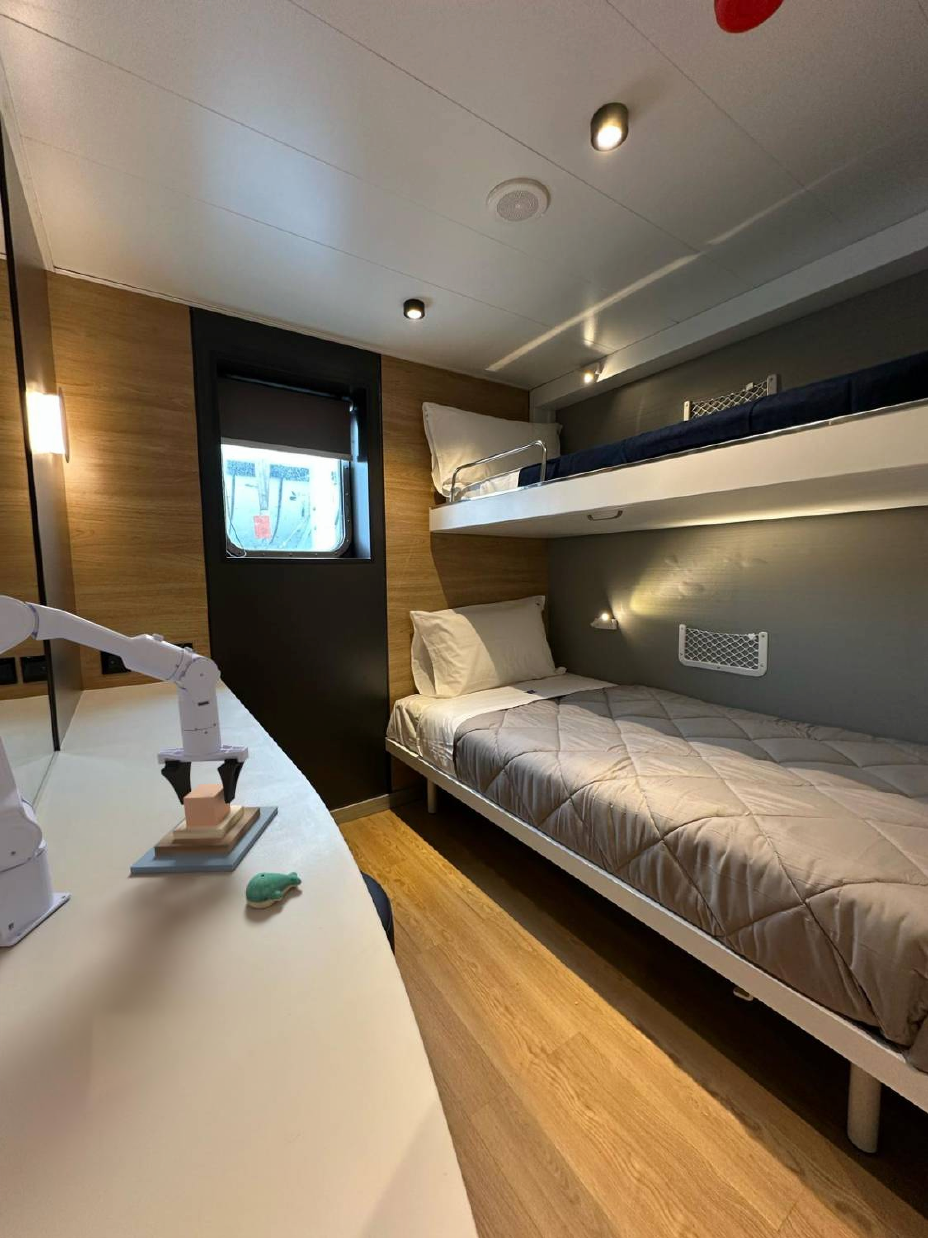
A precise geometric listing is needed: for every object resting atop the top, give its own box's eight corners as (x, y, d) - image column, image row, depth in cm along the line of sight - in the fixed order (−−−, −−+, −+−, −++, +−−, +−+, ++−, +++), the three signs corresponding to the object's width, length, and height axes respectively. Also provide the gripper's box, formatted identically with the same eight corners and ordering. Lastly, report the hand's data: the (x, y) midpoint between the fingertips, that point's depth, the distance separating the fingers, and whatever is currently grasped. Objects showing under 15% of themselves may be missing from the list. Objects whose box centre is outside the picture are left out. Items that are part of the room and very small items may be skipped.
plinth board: (232, 870, 76) (230, 846, 75) (130, 873, 76) (127, 849, 75) (277, 811, 93) (276, 791, 93) (195, 813, 94) (193, 793, 93)
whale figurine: (242, 896, 70) (240, 871, 70) (294, 875, 74) (292, 852, 74) (252, 919, 65) (249, 893, 65) (306, 895, 70) (304, 871, 69)
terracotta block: (216, 825, 81) (213, 797, 81) (186, 826, 81) (183, 798, 81) (230, 810, 86) (228, 783, 86) (202, 811, 86) (199, 784, 86)
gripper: (253, 716, 86) (259, 789, 88) (172, 718, 86) (180, 791, 88) (234, 730, 79) (241, 809, 81) (145, 732, 79) (155, 811, 81)
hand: (208, 801), depth 84 cm, fingers open, 7 cm apart
